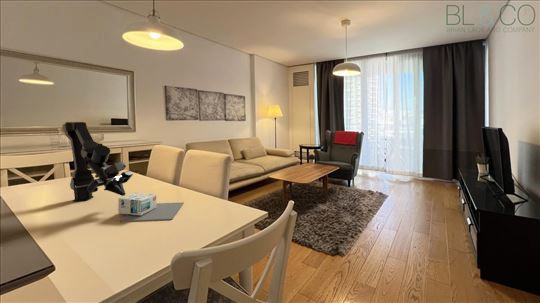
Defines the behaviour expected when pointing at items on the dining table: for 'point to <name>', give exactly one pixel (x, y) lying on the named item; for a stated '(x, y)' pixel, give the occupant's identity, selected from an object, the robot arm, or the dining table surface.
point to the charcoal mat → (156, 213)
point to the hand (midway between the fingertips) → (124, 195)
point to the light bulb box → (137, 203)
